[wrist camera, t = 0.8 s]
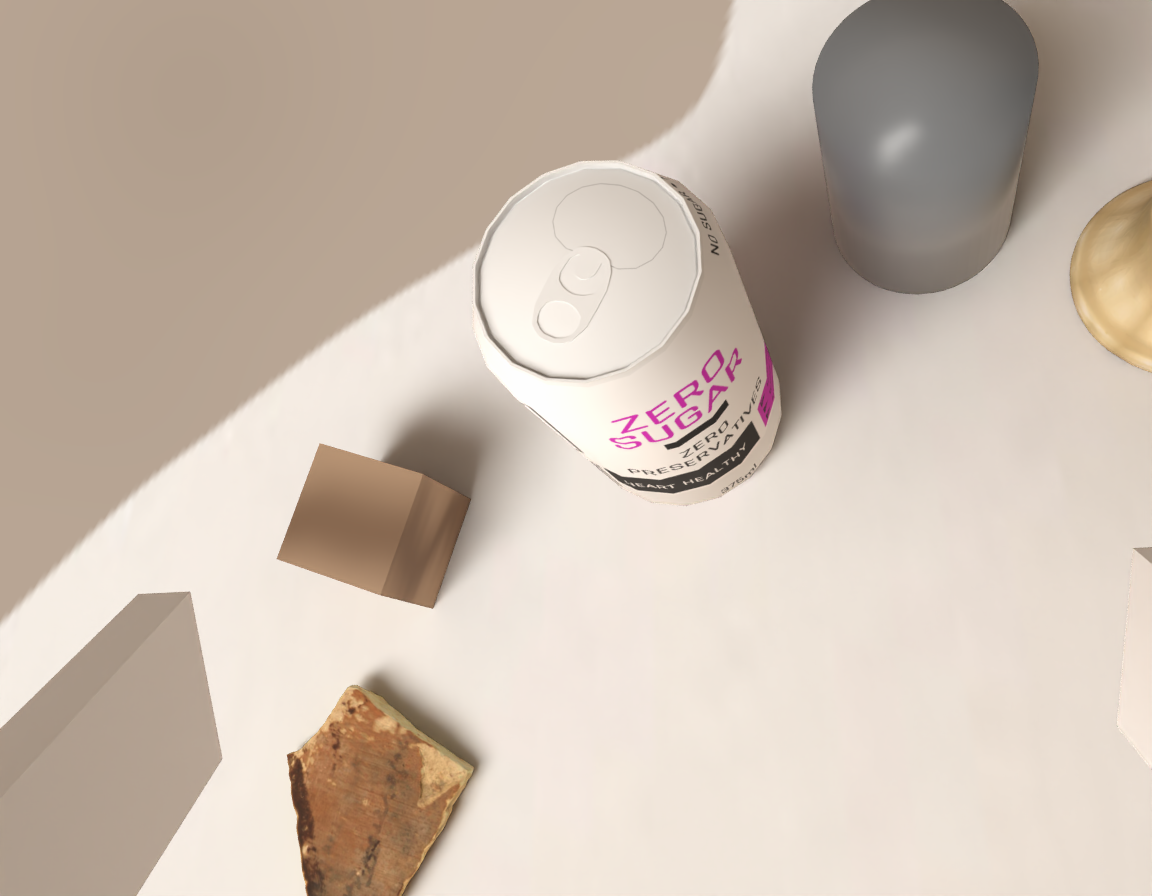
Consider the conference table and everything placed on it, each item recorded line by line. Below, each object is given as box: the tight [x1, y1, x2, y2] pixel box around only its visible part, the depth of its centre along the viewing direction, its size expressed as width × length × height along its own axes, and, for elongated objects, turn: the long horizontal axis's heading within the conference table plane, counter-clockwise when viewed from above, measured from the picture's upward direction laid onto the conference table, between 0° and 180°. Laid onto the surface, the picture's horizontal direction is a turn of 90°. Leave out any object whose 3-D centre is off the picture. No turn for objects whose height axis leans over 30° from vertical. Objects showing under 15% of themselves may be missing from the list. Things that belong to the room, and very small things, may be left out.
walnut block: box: [277, 444, 471, 609], centre depth 45 cm, size 5×5×5 cm
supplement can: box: [472, 161, 782, 506], centre depth 38 cm, size 8×8×15 cm
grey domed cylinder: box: [812, 0, 1039, 294], centre depth 39 cm, size 7×7×10 cm
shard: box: [287, 685, 474, 896], centre depth 44 cm, size 11×8×2 cm
